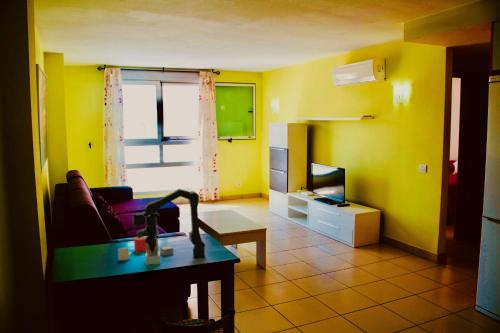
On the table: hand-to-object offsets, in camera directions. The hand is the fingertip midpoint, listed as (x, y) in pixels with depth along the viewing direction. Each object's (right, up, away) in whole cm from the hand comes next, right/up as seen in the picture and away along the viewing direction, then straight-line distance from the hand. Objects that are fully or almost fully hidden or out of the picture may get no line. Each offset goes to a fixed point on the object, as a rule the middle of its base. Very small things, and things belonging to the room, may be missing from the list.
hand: (152, 250), depth 226 cm
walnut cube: (0, -1, 0) cm, 1 cm away
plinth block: (0, -7, +1) cm, 7 cm away
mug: (-12, -5, +24) cm, 27 cm away
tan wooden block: (+5, -6, +16) cm, 17 cm away
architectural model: (-19, -7, +6) cm, 21 cm away
